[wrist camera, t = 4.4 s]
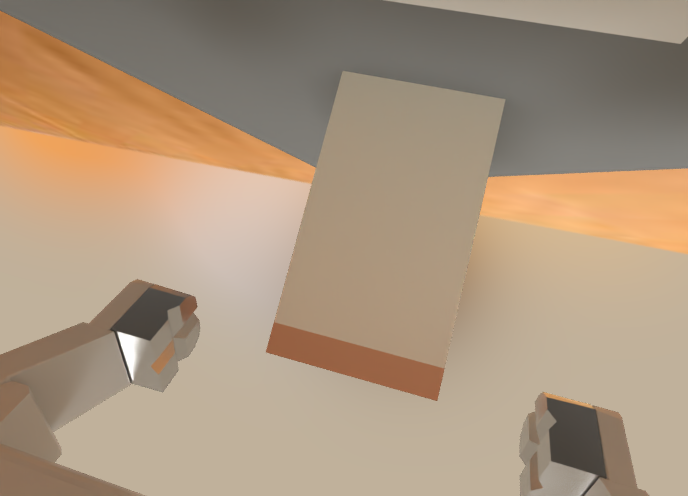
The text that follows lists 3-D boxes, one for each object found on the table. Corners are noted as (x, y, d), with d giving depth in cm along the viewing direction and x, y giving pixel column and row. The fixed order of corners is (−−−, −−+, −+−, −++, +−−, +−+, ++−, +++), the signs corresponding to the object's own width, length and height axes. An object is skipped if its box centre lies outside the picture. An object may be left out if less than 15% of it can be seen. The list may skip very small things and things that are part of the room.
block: (358, 133, 18) (302, 344, 17) (342, 70, 13) (265, 352, 12) (480, 157, 17) (428, 379, 16) (505, 99, 13) (436, 401, 12)
